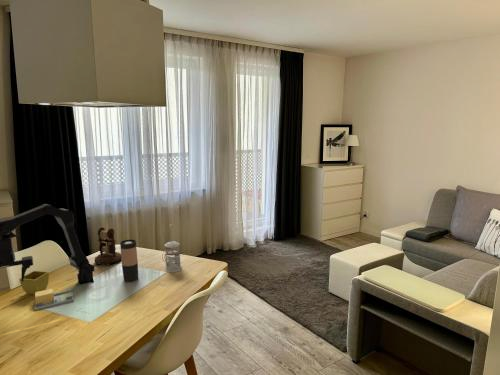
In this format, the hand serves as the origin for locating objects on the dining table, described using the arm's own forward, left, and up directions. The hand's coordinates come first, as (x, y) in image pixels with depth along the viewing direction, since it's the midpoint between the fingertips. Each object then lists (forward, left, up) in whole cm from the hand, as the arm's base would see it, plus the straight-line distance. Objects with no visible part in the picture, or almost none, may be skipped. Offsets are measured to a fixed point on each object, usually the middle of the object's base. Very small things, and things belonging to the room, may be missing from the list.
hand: (9, 283), depth 148 cm
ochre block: (-12, 0, -11) cm, 16 cm away
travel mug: (-50, -3, -12) cm, 52 cm away
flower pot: (-8, -12, -12) cm, 19 cm away
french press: (-72, -4, -12) cm, 73 cm away
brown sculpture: (-44, -35, -12) cm, 58 cm away
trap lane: (-16, +2, -12) cm, 20 cm away
